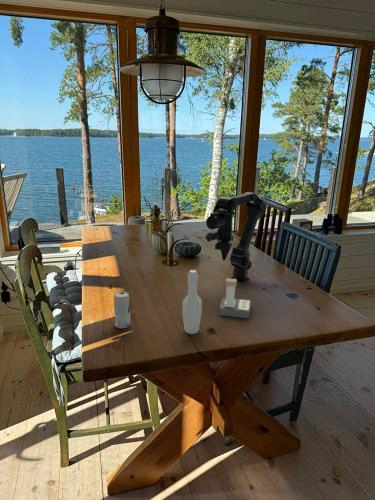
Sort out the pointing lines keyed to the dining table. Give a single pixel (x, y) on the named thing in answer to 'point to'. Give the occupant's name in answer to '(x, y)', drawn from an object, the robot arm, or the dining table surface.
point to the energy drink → (122, 309)
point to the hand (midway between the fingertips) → (224, 260)
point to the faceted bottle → (192, 305)
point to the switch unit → (236, 308)
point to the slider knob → (230, 292)
